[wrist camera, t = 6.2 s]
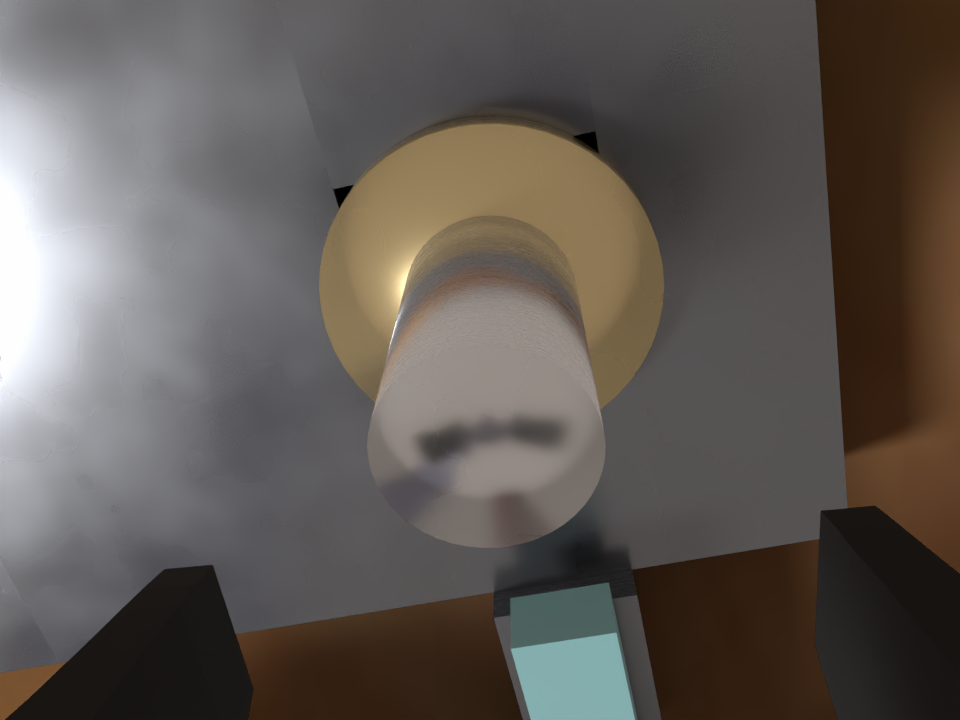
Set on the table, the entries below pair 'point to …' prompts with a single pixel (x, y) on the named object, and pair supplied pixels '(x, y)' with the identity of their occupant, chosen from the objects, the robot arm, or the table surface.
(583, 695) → the locking bolt
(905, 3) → the table surface
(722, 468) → the block
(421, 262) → the gold disc with post
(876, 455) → the table surface
